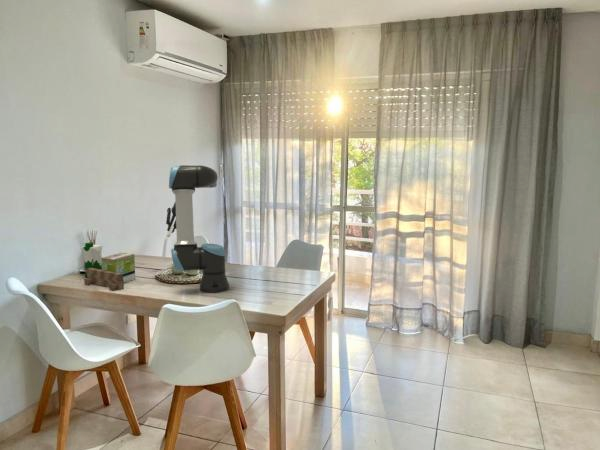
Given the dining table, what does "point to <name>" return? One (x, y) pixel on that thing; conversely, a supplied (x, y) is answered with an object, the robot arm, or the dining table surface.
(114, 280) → the brown bumpy block
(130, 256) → the tea box
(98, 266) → the milk carton
